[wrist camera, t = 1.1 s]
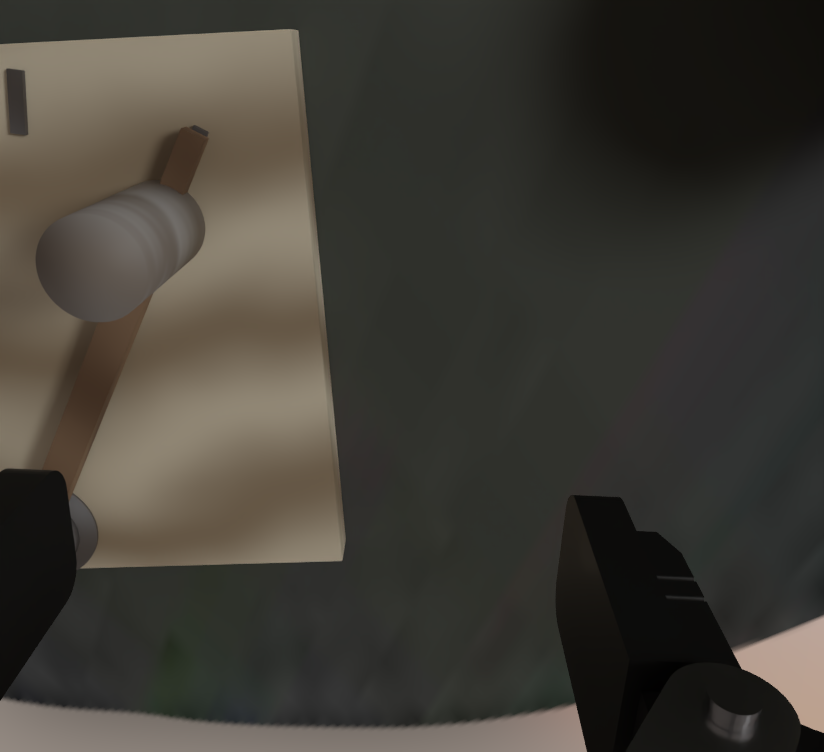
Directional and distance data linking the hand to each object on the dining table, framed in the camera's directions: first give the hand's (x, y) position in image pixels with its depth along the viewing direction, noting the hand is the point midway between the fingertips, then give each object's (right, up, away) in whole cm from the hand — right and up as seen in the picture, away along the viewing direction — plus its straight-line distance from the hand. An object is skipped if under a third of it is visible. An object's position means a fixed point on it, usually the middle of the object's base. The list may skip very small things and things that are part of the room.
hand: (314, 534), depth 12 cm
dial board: (-14, +4, +18) cm, 23 cm away
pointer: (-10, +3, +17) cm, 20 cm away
